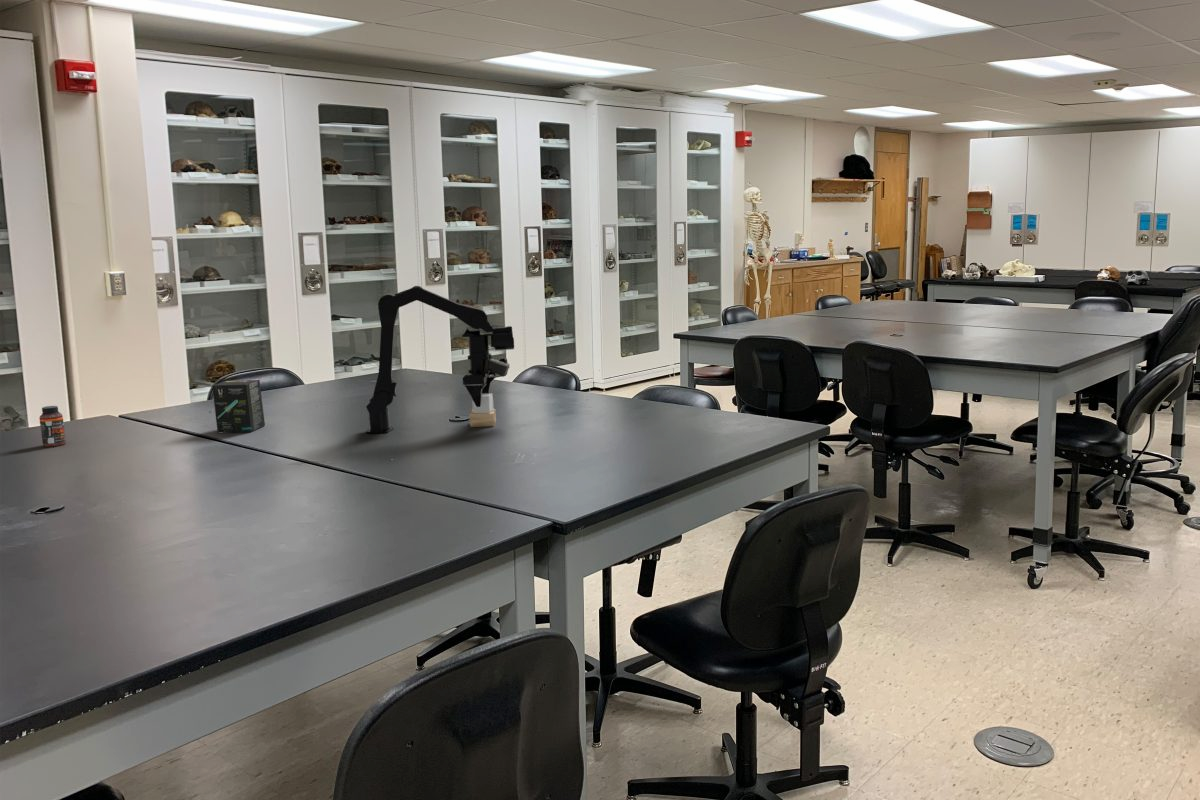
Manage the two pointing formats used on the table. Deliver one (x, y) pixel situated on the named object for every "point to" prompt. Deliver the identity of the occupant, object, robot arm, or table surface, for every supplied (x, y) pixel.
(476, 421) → the oak block
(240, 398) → the tampon box
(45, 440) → the supplement bottle
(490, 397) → the white cube
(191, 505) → the table surface
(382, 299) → the robot arm
